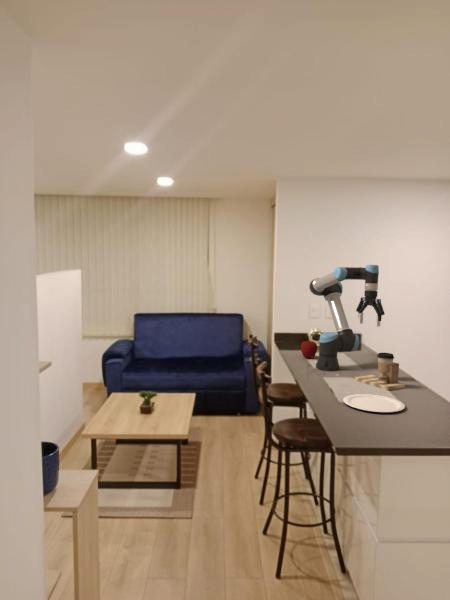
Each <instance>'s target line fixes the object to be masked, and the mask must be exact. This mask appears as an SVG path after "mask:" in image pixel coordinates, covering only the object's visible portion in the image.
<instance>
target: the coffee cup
mask: <svg viewBox="0 0 450 600" xmlns="http://www.w3.org/2000/svg"><path fill="white" fill-rule="evenodd" d="M394 359H395V356H394V354H393V353H392V352H391V353H389V352H378V353H377V367H378V370H377V371H378V377H383V362H394Z"/></svg>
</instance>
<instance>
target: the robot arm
mask: <svg viewBox="0 0 450 600" xmlns="http://www.w3.org/2000/svg"><path fill="white" fill-rule="evenodd" d="M379 269H380V268H379V265H378V264H366V265H365V267H361V266H360V267H359V266H358V267H353V266H352V267H347V266H345V267H344V266H339V267H336V268H335V269H334V271H333V272H330V273H328V274H326V275H324V276H322V277H316V278H314V279H312V280H311V281H310V283H309V291H310V292H311V293H312V294H313V295H315V296H319V297H320V296H321V297H323V298H324V300H325V301H326V302H327V303H328V307H329V311H330V314H331V316H332V320H333V324H334V327H335V330H336V331H327V332H326V331H325V332H323V333H321V334H320V335H319V339H318V340H319V342H318V343H319V344H318V345H319V349H318V358H317V360H316V363H315V368H316V369H317V370H321V371H327V372H329V371H330V372H332V371H339V370H340V364H339V363H340V362H339V359H338V353H351V352H355V351H357V349H358V348H359V346H360V337H359V335H358V334H356V333H354V331H353V329H352V328H350V326H349V323H348V320H347V316H346V313H345V310H344V306H343V303H342V300H341V296H342V294H343V290H344V289H343V283H342V282H344V281H345V280H355V281H356V280H359V281H361V280H362V281H364V296H362V297H360V299H359V300H360V301H359V303H358V305H357V308H356V311H355V312H357V313H358V324H359V325H360V324H363V323H364V311H365V309H366V308H367V307H368V306H370V307H372V308H373V310H374V311H375V313H376V314H377V315H376V319H375V320H376V321H375V327H378V328H379V327H381V322H382V316H384V315H385V310H384V307H383V305H382V299H380V298H378V290H379V289H378V288H379V273H380V272H379Z"/></svg>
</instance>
